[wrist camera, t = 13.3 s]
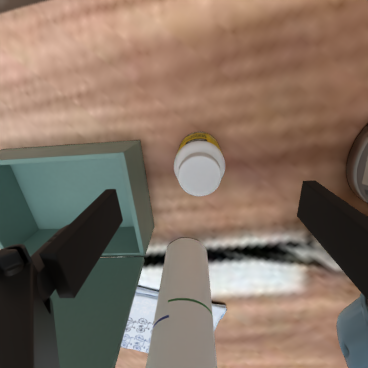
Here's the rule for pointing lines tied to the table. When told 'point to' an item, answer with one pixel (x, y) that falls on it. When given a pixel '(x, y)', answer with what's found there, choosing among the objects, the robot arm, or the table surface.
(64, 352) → the lid
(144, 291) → the folded bicycle print towel
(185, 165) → the supplement bottle
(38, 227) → the chest
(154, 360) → the cylindrical container
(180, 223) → the table surface
